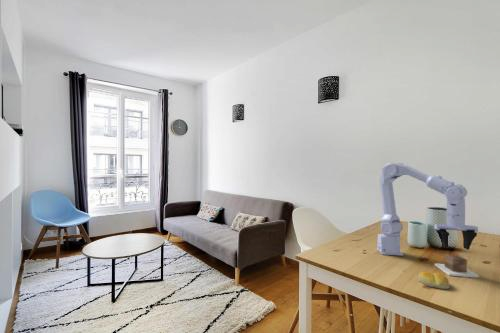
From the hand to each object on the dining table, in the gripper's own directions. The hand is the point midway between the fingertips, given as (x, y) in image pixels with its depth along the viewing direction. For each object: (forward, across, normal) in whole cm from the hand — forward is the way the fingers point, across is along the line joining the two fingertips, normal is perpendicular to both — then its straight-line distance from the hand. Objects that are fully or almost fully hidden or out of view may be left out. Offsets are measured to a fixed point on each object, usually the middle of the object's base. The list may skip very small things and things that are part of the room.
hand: (455, 248), depth 98 cm
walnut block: (+8, 0, 0) cm, 8 cm away
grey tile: (+9, 0, 0) cm, 9 cm away
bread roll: (+10, -14, -13) cm, 22 cm away
